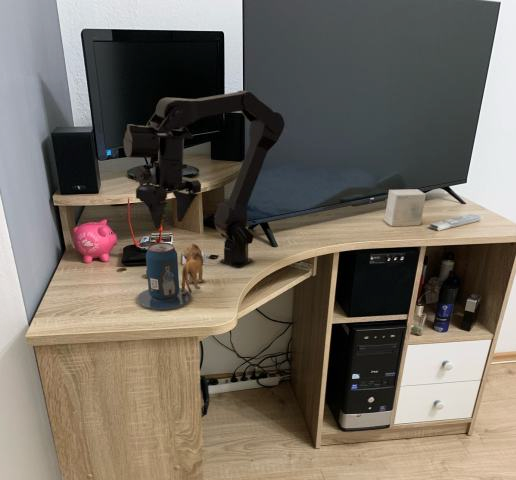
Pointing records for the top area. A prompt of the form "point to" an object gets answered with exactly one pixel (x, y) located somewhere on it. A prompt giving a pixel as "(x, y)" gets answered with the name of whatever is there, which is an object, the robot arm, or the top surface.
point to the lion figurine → (192, 267)
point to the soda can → (162, 271)
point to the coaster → (152, 304)
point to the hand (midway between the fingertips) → (169, 225)
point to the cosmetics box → (404, 207)
